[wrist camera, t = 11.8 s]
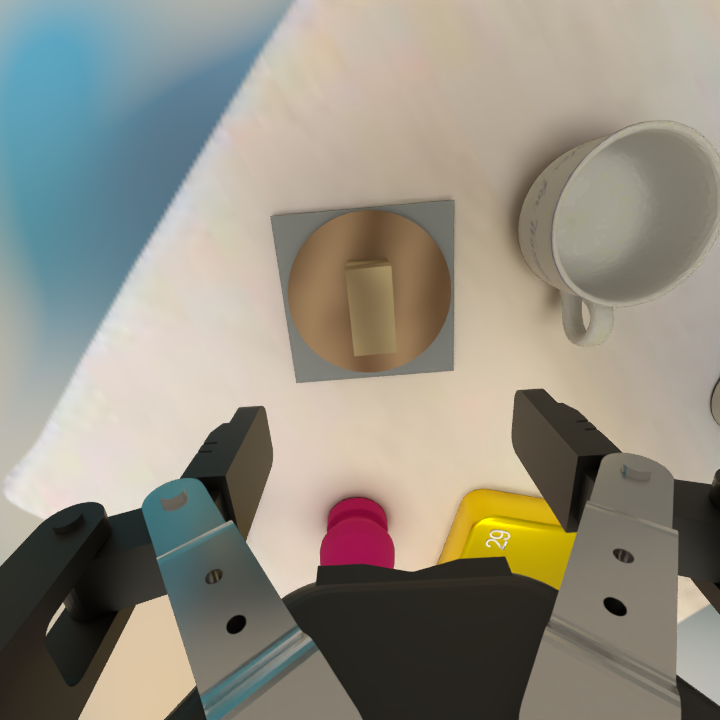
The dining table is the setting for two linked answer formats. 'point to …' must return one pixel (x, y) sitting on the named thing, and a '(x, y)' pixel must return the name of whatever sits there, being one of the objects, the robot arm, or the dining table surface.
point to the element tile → (510, 534)
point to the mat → (300, 227)
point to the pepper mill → (357, 535)
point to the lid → (369, 291)
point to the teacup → (621, 221)
